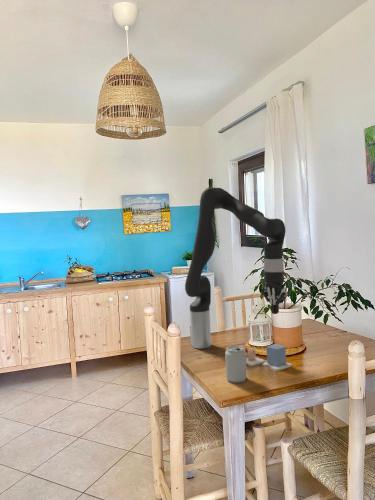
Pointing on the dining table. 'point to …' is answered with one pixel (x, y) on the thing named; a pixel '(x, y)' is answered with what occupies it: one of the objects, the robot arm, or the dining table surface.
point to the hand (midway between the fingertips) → (275, 313)
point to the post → (277, 367)
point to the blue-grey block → (276, 355)
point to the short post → (252, 358)
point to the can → (235, 364)
